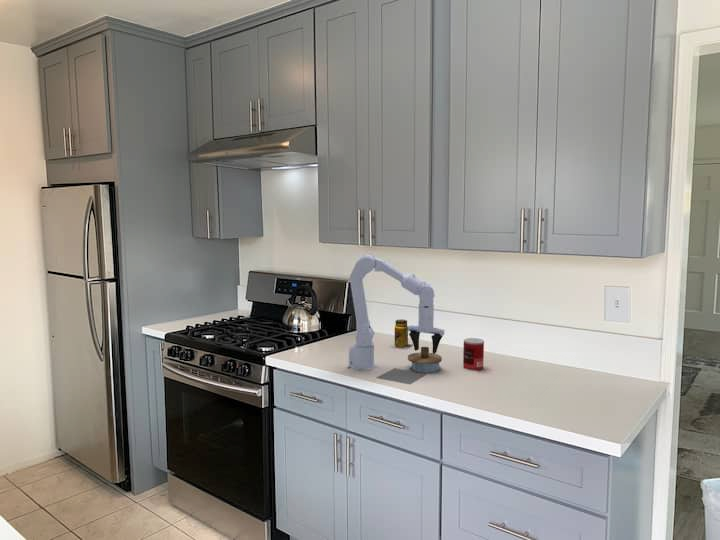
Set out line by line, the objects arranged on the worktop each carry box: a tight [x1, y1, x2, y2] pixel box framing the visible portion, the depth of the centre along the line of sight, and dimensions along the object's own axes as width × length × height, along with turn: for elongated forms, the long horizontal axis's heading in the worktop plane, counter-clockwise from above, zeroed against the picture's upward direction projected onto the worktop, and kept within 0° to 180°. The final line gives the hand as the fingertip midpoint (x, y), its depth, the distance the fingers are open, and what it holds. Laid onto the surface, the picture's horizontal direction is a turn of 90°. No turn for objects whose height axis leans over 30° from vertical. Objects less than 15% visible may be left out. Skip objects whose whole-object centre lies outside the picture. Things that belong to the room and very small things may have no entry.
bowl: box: [411, 362, 440, 373], centre depth 211 cm, size 10×10×4 cm
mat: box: [376, 367, 428, 385], centre depth 202 cm, size 14×14×1 cm
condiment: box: [394, 319, 414, 350], centre depth 246 cm, size 7×8×12 cm
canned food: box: [462, 337, 485, 371], centre depth 213 cm, size 8×8×11 cm
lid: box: [407, 346, 443, 364], centre depth 210 cm, size 13×13×5 cm
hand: (425, 351), depth 211 cm, fingers open, 7 cm apart
